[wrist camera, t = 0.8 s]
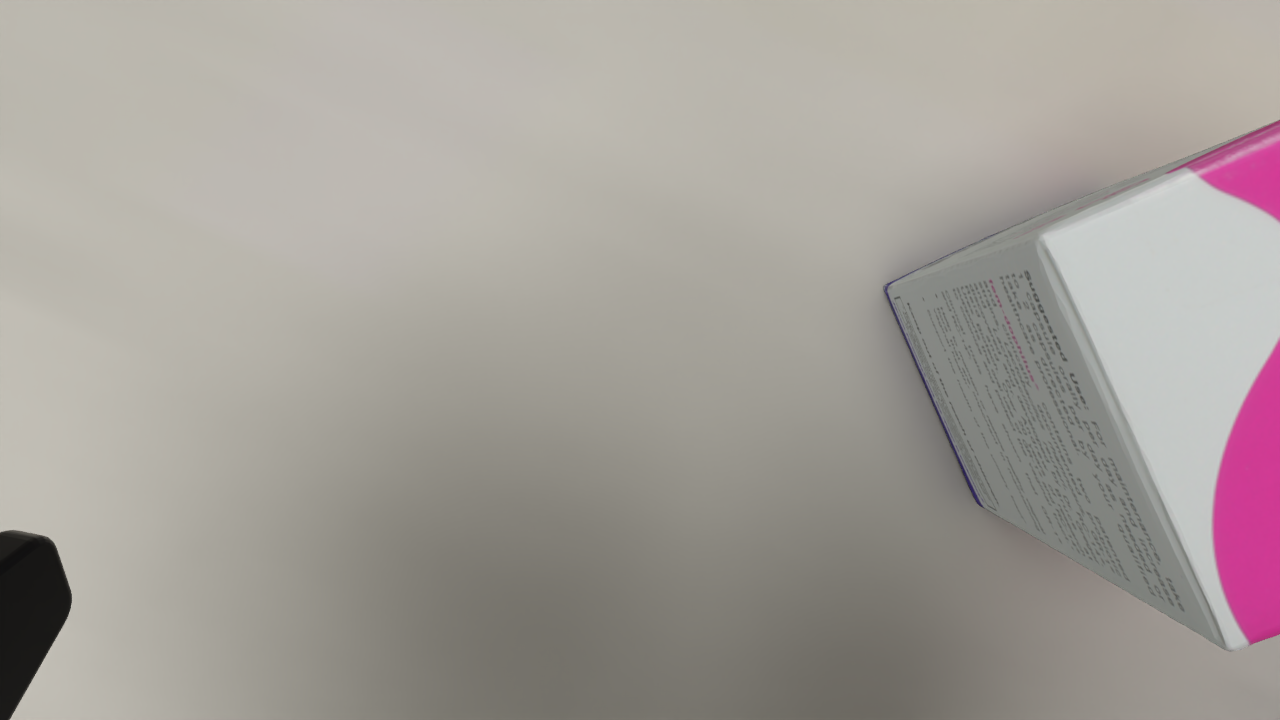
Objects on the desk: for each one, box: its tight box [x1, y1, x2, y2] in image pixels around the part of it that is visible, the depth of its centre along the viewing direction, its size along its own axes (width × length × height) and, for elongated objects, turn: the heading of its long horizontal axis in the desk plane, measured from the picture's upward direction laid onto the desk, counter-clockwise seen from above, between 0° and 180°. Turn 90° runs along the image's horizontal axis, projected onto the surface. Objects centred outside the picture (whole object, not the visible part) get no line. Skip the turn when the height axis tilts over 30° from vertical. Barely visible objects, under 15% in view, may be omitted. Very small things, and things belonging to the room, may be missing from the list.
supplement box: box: [883, 120, 1280, 651], centre depth 17 cm, size 6×6×12 cm
